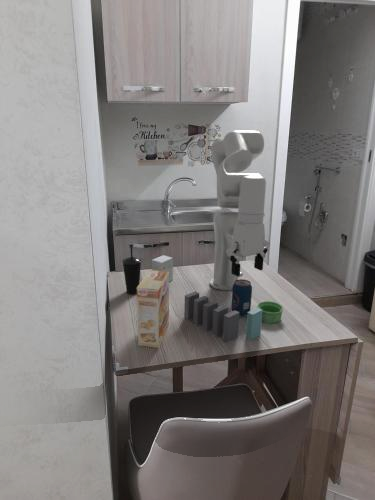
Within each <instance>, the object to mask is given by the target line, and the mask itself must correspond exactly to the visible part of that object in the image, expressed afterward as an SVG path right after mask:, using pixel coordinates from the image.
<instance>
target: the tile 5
mask: <svg viewBox="0 0 375 500" xmlns="http://www.w3.org/2000/svg"><path fill="white" fill-rule="evenodd" d="M227 313H229V306H227V305H224V304H223V305H221V306H218V308H216V309H214V310H213V329H211V330H212V334H211V335H212V336H214V337H219V336H221V335H222V336H223V324H224V315H225V314H227Z"/></svg>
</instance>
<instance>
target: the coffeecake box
mask: <svg viewBox="0 0 375 500" xmlns="http://www.w3.org/2000/svg"><path fill="white" fill-rule="evenodd" d="M169 306H170V281H169V272H167V271H155V270H152V269H149V270H148V271H147V272H146V274H145V276H144V277H143V278H142V280H140V282H139V285H138V287H137V294H136V307H137V310H136V312H137V316H136V317H137V343H138V344H137V346H139V347H149V348H156V349H157V348H158V349H160V347H161V344H162V343H163V340H164V337H165V335H166V332H167V330H168V328H169V324H170V307H169Z"/></svg>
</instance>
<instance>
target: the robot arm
mask: <svg viewBox="0 0 375 500" xmlns="http://www.w3.org/2000/svg"><path fill="white" fill-rule="evenodd" d="M210 147H211V148H210V153H211V161H212V163H213V164H212V165H213V167H214V170H215V173H216V201H217V205H218V206H219V208H221V209H230V210H233V209H234V210H236V209H237V210H238V211H237V212H236V211H223V212H218V213H217V214H215V216H214V218H213V232H214V257H213V258H214V260H213V261H214V263H213V278H211V279H210V281H209V285H210V287H212V288H214V289H216V290H218V291H219V290H220V291H232V288H233V285H234V282H235V281H236V280H239V278H241V277H243V276H244V273H243V272H242V271H241V263H240V262H241V260H242V259H243V258H244V257H249V256H254V263H253V264H254V266H253V267H254V269H256V270H258V271H263V269H264V259H265V258H266V254H267V253H268V250H269V248H270V245H271V242H269V241H267V240H265V239H266V238H265V237H266V235H265V234H266V232H265V230H266V229H265V222H264V217H265V213H264V212H265V202H266V201H265V199H266V189H267V188H266V187H267V186H266V185H267V181H266V178H265V177H264V176H263V175H262V174H260V173H256V172H255V173H254V172H253V173H251V172H249V173H248V172H244V171H246V170H247V169H249V167H250V166H251V164H252V162H253V161H255V160H256V159H257V158H259V156H261V155H262V153H263V151H264V149H265V138H264V136H263V134H262V133H261V132H260V131H257V130H231V131H230V132H228V133H226V134H225V136H224V137H223V138H220V139H216V140H214V141H213V142H212V144H211V146H210Z"/></svg>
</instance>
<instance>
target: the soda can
mask: <svg viewBox="0 0 375 500" xmlns="http://www.w3.org/2000/svg"><path fill="white" fill-rule="evenodd" d="M252 291H253V286H252V284H251V281H249V280H247V279H242V278H241V279H239V278H238V279H237V280H236V281H235V282H234V285H233V288H232V290H231V305H230V306H231V307H230V309H231V312H232V311H234V310H235V311H238V312H240V313H239V317H247V314H248V312H249V311H251V310H252V308H251V307H252V297H253V296H252V295H253V292H252Z"/></svg>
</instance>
